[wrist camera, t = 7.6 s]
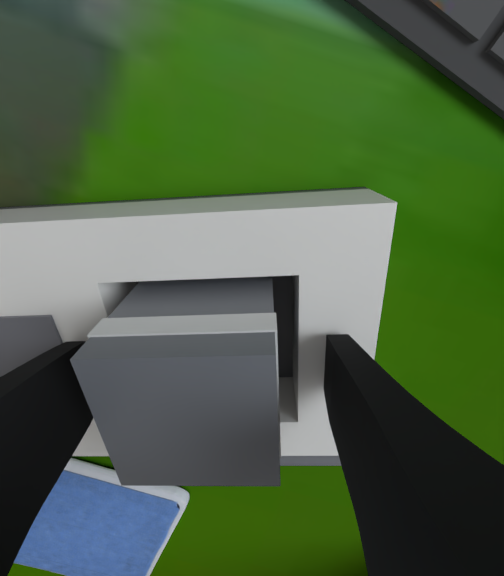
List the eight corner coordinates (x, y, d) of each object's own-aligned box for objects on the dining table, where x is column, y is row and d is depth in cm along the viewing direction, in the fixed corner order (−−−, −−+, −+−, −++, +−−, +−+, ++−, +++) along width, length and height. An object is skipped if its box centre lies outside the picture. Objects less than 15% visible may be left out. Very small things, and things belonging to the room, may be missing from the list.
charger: (276, 356, 12) (282, 487, 7) (173, 358, 12) (120, 486, 8) (272, 258, 10) (278, 352, 6) (152, 263, 10) (66, 357, 6)
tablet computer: (-137, 505, 20) (-163, 528, 19) (-183, 369, 15) (-222, 390, 13) (147, 572, 22) (140, 596, 21) (197, 476, 17) (191, 502, 16)
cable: (347, 453, 15) (352, 472, 14) (144, 454, 15) (137, 471, 15) (349, 437, 14) (354, 454, 14) (138, 438, 15) (131, 455, 14)
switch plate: (343, 400, 13) (360, 458, 11) (40, 404, 14) (-7, 458, 12) (364, 186, 9) (398, 203, 7) (-58, 210, 10) (-158, 232, 8)
